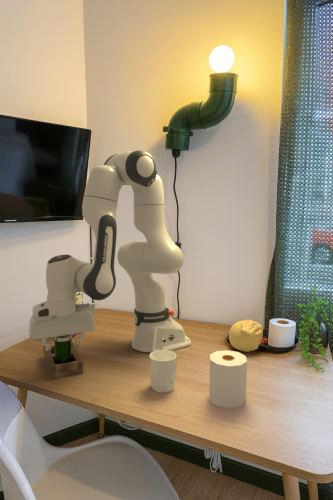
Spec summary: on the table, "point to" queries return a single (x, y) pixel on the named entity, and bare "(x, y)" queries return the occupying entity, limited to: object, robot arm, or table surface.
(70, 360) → the beer can
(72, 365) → the shelf
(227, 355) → the toilet paper
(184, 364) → the table surface
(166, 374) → the white cup
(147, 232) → the robot arm
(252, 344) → the sculpture
